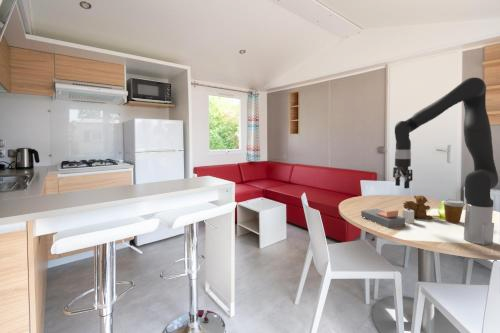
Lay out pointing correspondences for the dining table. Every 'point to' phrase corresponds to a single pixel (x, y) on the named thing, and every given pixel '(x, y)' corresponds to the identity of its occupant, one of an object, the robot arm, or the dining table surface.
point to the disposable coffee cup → (453, 210)
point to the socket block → (383, 218)
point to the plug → (408, 215)
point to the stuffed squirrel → (418, 207)
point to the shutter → (389, 213)
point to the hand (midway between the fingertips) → (401, 186)
